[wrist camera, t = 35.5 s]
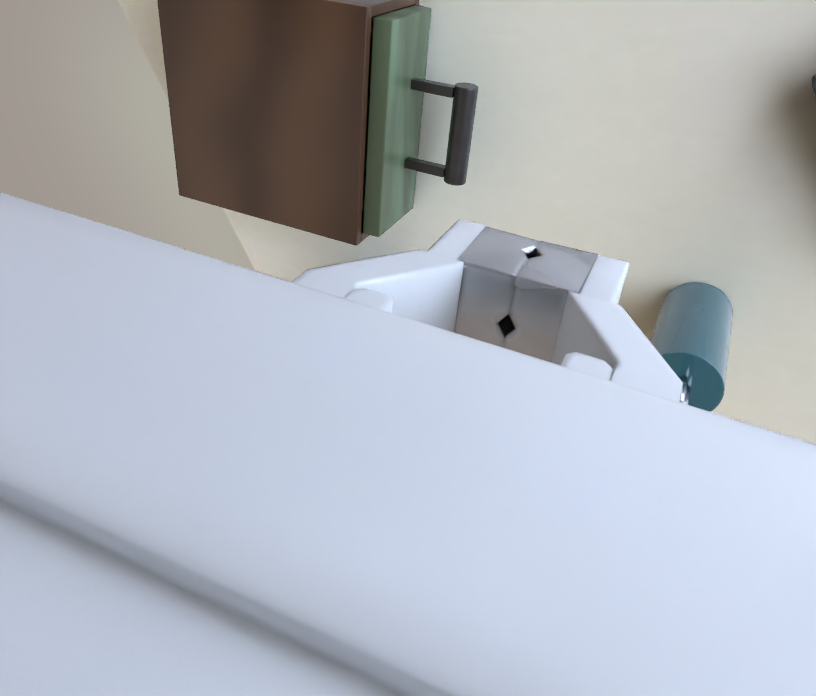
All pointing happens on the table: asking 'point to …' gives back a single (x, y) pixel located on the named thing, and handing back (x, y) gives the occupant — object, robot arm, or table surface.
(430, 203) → the table surface
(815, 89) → the disk drive
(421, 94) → the drawer
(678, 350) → the cutlery cup
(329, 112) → the cabinet
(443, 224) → the table surface
